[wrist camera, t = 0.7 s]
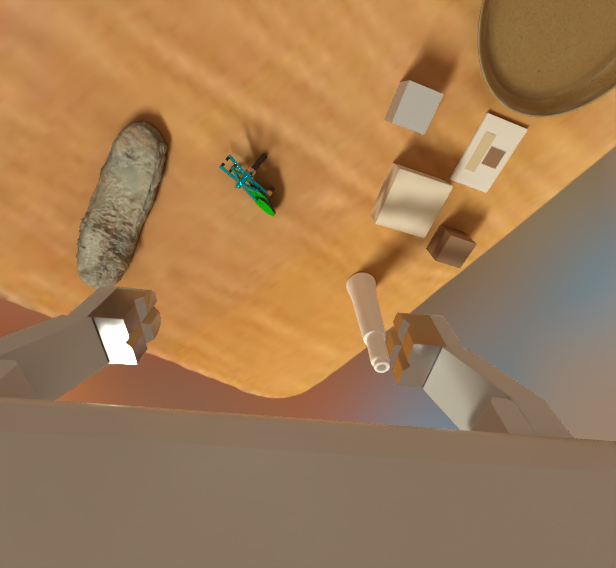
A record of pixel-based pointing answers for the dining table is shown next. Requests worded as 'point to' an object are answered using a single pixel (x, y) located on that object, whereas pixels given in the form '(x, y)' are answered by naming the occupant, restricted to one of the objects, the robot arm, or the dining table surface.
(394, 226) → the birch base block
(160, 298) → the dining table surface
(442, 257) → the walnut cube
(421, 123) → the grey plastic cube
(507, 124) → the card
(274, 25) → the dining table surface
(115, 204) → the elongated rock
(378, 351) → the cosmetic bottle
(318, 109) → the dining table surface
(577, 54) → the plant saucer
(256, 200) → the stick construction toy
